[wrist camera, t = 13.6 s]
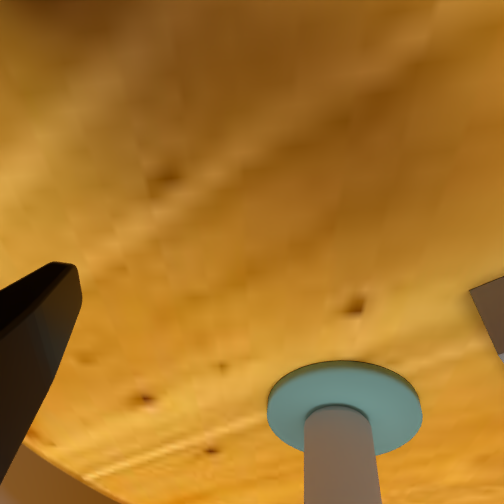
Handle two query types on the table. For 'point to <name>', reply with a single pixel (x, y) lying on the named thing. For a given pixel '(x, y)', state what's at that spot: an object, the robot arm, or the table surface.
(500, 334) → the can holder
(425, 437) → the table surface
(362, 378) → the teal pad
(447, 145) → the table surface
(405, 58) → the table surface
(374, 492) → the beverage can
